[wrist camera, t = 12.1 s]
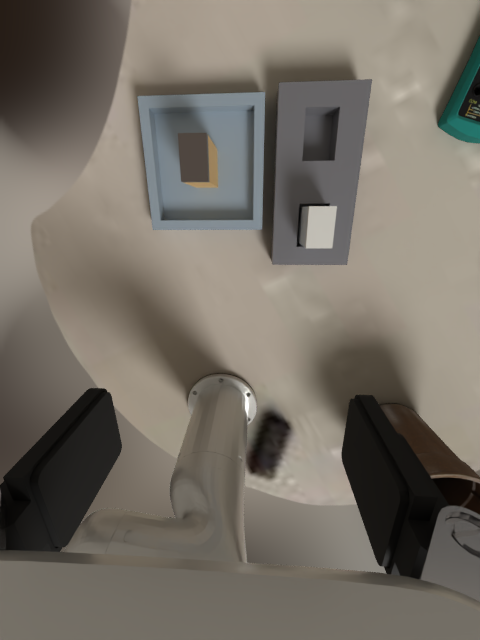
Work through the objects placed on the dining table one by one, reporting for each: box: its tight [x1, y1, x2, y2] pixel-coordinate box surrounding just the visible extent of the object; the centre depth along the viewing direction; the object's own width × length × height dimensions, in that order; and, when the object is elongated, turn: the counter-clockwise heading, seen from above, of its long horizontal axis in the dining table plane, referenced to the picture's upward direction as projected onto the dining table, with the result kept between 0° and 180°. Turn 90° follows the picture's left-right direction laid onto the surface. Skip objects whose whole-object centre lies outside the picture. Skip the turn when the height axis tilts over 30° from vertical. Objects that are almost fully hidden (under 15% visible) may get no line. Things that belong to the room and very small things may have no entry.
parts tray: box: [137, 92, 265, 230], centre depth 36 cm, size 15×15×2 cm
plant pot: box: [379, 404, 480, 515], centre depth 44 cm, size 16×16×16 cm
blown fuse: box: [178, 133, 218, 188], centre depth 33 cm, size 4×3×8 cm, turn 0°
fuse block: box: [271, 79, 372, 265], centre depth 35 cm, size 20×10×4 cm, turn 0°
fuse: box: [297, 206, 337, 248], centre depth 35 cm, size 4×3×8 cm, turn 0°
